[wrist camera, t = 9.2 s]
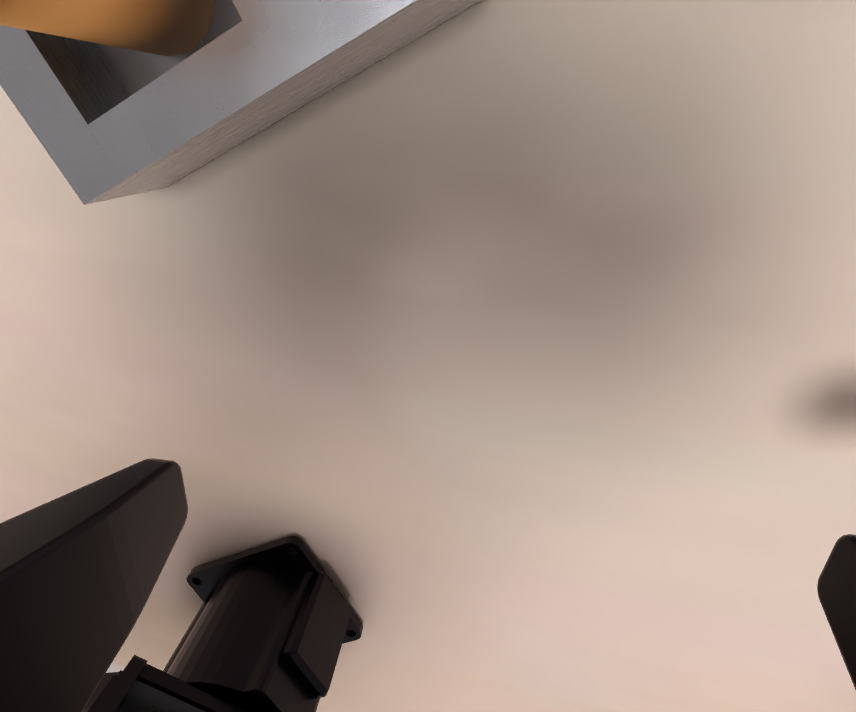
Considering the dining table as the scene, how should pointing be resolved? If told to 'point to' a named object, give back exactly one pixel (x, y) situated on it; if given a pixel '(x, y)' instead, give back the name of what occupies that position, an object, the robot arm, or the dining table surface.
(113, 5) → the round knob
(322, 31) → the grey slotted base
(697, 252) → the dining table surface
